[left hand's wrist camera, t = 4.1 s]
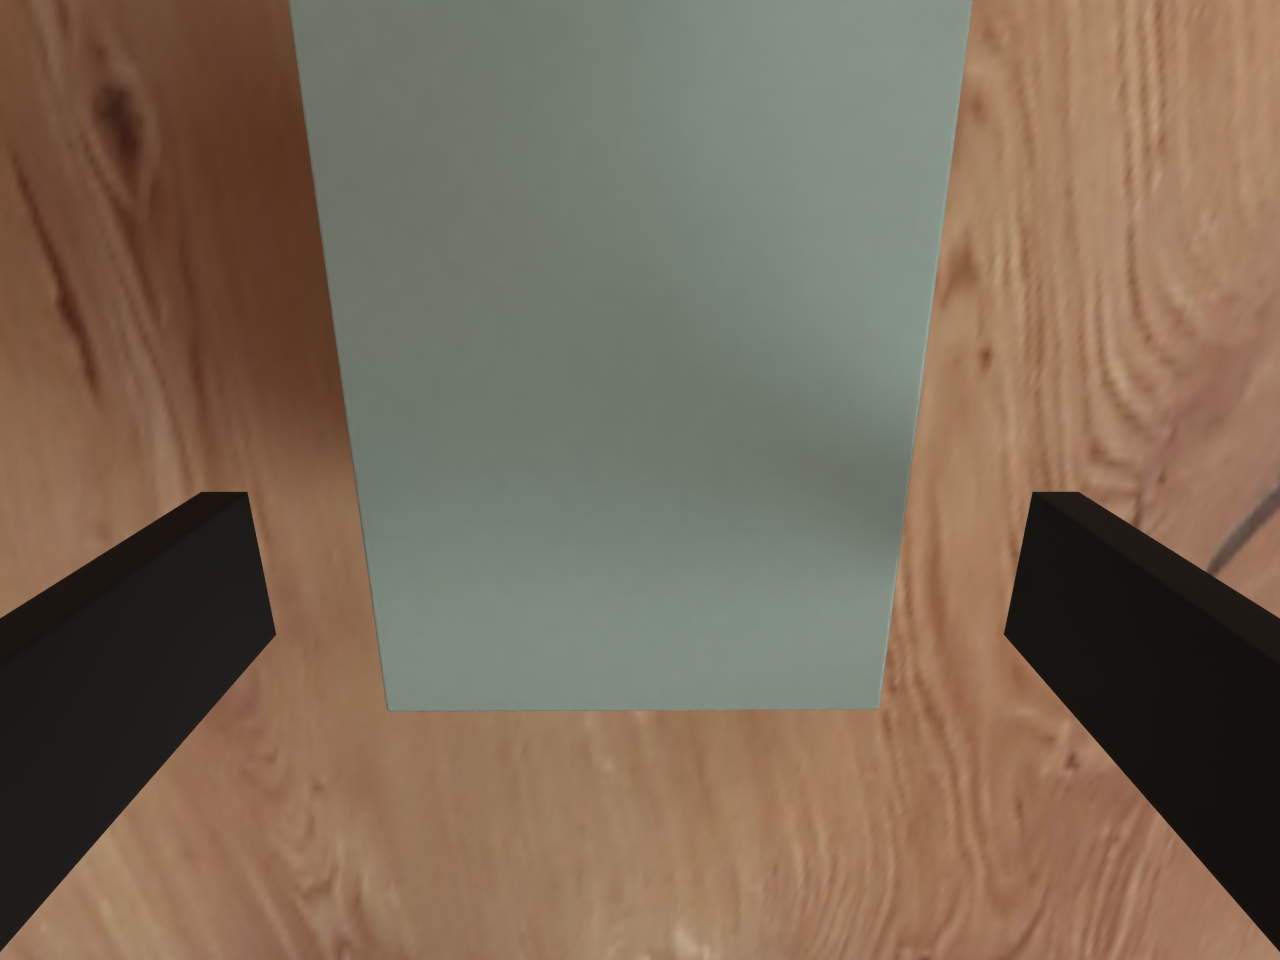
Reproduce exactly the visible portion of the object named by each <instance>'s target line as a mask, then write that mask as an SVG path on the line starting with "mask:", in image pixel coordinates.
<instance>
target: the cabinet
mask: <svg viewBox="0 0 1280 960" xmlns="http://www.w3.org/2000/svg"><path fill="white" fill-rule="evenodd" d="M972 2H973V0H288V5H289V12H290V19H291V26H292V34H293V41H294V48H295V55H296V62H297V69H298V76H299V84H300V91H301V98H302V105H303V112H304V119H305V126H306V134H307V141H308V148H309V155H310V162H311V169H312V176H313V184H314V191H315V198H316V205H317V212H318V219H319V227H320V234H321V241H322V248H323V255H324V262H325V269H326V277H327V284H328V291H329V298H330V305H331V312H332V319H333V327H334V334H335V341H336V348H337V355H338V362H339V369H340V377H341V384H342V391H343V398H344V405H345V412H346V420H347V427H348V434H349V441H350V448H351V455H352V462H353V470H354V477H355V484H356V491H357V498H358V505H359V512H360V520H361V527H362V534H363V541H364V548H365V555H366V562H367V570H368V577H369V584H370V591H371V598H372V605H373V613H374V620H375V627H376V634H377V641H378V648H379V655H380V663H381V670H382V677H383V684H384V691H385V698H386V705H387V710H388V711H390V712H391V711H631V710H870V709H878V708H879V706H880V698H881V691H882V683H883V676H884V668H885V661H886V653H887V645H888V638H889V630H890V623H891V615H892V608H893V600H894V592H895V585H896V577H897V570H898V562H899V555H900V547H901V540H902V532H903V524H904V517H905V509H906V502H907V494H908V487H909V479H910V471H911V464H912V456H913V449H914V441H915V434H916V426H917V418H918V411H919V403H920V396H921V388H922V381H923V373H924V365H925V358H926V350H927V343H928V335H929V328H930V320H931V312H932V305H933V297H934V290H935V282H936V275H937V267H938V260H939V252H940V244H941V237H942V229H943V222H944V214H945V207H946V199H947V191H948V184H949V176H950V169H951V161H952V154H953V146H954V138H955V131H956V123H957V116H958V108H959V101H960V93H961V85H962V78H963V70H964V63H965V55H966V48H967V40H968V32H969V25H970V17H971V10H972Z"/></svg>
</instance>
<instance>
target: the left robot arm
mask: <svg viewBox="0 0 1280 960" xmlns="http://www.w3.org/2000/svg"><path fill="white" fill-rule="evenodd" d="M275 635H276V632H275V627H274V622H273V617H272V612H271V607H270V602H269V597H268V592H267V587H266V582H265V577H264V572H263V567H262V562H261V557H260V552H259V547H258V542H257V538H256V533H255V528H254V523H253V518H252V513H251V508H250V503H249V498H248V493H247V492H201V493H199V494H197V495H196V496H194V497H193V498H191V499H189V500H188V501H186V502H185V503H183V504H181V505H180V506H178V507H177V508H175V509H174V510H172V511H170V512H169V513H167V514H166V515H164V516H162V517H161V518H159V519H158V520H156V521H154V522H153V523H151V524H150V525H148V526H147V527H145V528H143V529H142V530H140V531H139V532H137V533H135V534H134V535H132V536H131V537H129V538H127V539H126V540H124V541H123V542H121V543H120V544H118V545H116V546H115V547H113V548H112V549H110V550H108V551H107V552H105V553H104V554H102V555H100V556H99V557H97V558H96V559H94V560H92V561H91V562H89V563H88V564H86V565H85V566H83V567H81V568H80V569H78V570H77V571H75V572H73V573H72V574H70V575H69V576H67V577H65V578H64V579H62V580H61V581H59V582H58V583H56V584H54V585H53V586H51V587H50V588H48V589H46V590H45V591H43V592H42V593H40V594H38V595H37V596H35V597H34V598H32V599H31V600H29V601H27V602H26V603H24V604H23V605H21V606H19V607H18V608H16V609H15V610H13V611H11V612H10V613H8V614H7V615H5V616H4V617H2V618H0V952H1V950H2V949H3V948H4V947H5V946H6V945H7V944H8V942H9V941H10V940H11V939H12V938H13V937H14V935H15V934H16V933H17V932H18V931H19V930H20V929H21V927H22V926H23V925H24V924H25V923H26V922H27V920H28V919H29V918H30V917H31V916H32V915H33V914H34V912H35V911H36V910H37V909H38V908H39V907H40V906H41V904H42V903H43V902H44V901H45V900H46V899H47V897H48V896H49V895H50V894H51V893H52V892H53V891H54V889H55V888H56V887H57V886H58V885H59V884H60V883H61V881H62V880H63V879H64V878H65V877H66V876H67V874H68V873H69V872H70V871H71V870H72V869H73V868H74V866H75V865H76V864H77V863H78V862H79V861H80V860H81V858H82V857H83V856H84V855H85V854H86V853H87V851H88V850H89V849H90V848H91V847H92V846H93V845H94V843H95V842H96V841H97V840H98V839H99V838H100V837H101V835H102V834H103V833H104V832H105V831H106V830H107V828H108V827H109V826H110V825H111V824H112V823H113V822H114V820H115V819H116V818H117V817H118V816H119V815H120V814H121V812H122V811H123V810H124V809H125V808H126V807H127V805H128V804H129V803H130V802H131V801H132V800H133V799H134V797H135V796H136V795H137V794H138V793H139V792H140V791H141V789H142V788H143V787H144V786H145V785H146V784H147V782H148V781H149V780H150V779H151V778H152V777H153V776H154V774H155V773H156V772H157V771H158V770H159V769H160V768H161V766H162V765H163V764H164V763H165V762H166V761H167V759H168V758H169V757H170V756H171V755H172V754H173V753H174V751H175V750H176V749H177V748H178V747H179V746H180V744H181V743H182V742H183V741H184V740H185V739H186V738H187V736H188V735H189V734H190V733H191V732H192V731H193V730H194V728H195V727H196V726H197V725H198V724H199V723H200V721H201V720H202V719H203V718H204V717H205V716H206V715H207V713H208V712H209V711H210V710H211V709H212V708H213V707H214V705H215V704H216V703H217V702H218V701H219V700H220V698H221V697H222V696H223V695H224V694H225V693H226V692H227V690H228V689H229V688H230V687H231V686H232V685H233V684H234V682H235V681H236V680H237V679H238V678H239V677H240V675H241V674H242V673H243V672H244V671H245V670H246V669H247V667H248V666H249V665H250V664H251V663H252V662H253V661H254V659H255V658H256V657H257V656H258V655H259V654H260V652H261V651H262V650H263V649H264V648H265V647H266V646H267V644H268V643H269V642H270V641H271V640H272V639H273V638H274V636H275ZM1004 635H1005V636H1006V638H1007V639H1008V640H1009V641H1010V642H1011V643H1012V644H1013V646H1014V647H1015V648H1016V649H1017V650H1018V651H1019V652H1020V654H1021V655H1022V656H1023V657H1024V658H1025V659H1026V661H1027V662H1028V663H1029V664H1030V665H1031V666H1032V667H1033V669H1034V670H1035V671H1036V672H1037V673H1038V674H1039V675H1040V677H1041V678H1042V679H1043V680H1044V681H1045V682H1046V684H1047V685H1048V686H1049V687H1050V688H1051V689H1052V690H1053V692H1054V693H1055V694H1056V695H1057V696H1058V697H1059V698H1060V700H1061V701H1062V702H1063V703H1064V704H1065V705H1066V707H1067V708H1068V709H1069V710H1070V711H1071V712H1072V713H1073V715H1074V716H1075V717H1076V718H1077V719H1078V720H1079V721H1080V723H1081V724H1082V725H1083V726H1084V727H1085V728H1086V730H1087V731H1088V732H1089V733H1090V734H1091V735H1092V736H1093V738H1094V739H1095V740H1096V741H1097V742H1098V743H1099V744H1100V746H1101V747H1102V748H1103V749H1104V750H1105V751H1106V753H1107V754H1108V755H1109V756H1110V757H1111V758H1112V759H1113V761H1114V762H1115V763H1116V764H1117V765H1118V766H1119V768H1120V769H1121V770H1122V771H1123V772H1124V773H1125V774H1126V776H1127V777H1128V778H1129V779H1130V780H1131V781H1132V782H1133V784H1134V785H1135V786H1136V787H1137V788H1138V789H1139V791H1140V792H1141V793H1142V794H1143V795H1144V796H1145V797H1146V799H1147V800H1148V801H1149V802H1150V803H1151V804H1152V805H1153V807H1154V808H1155V809H1156V810H1157V811H1158V812H1159V814H1160V815H1161V816H1162V817H1163V818H1164V819H1165V820H1166V822H1167V823H1168V824H1169V825H1170V826H1171V827H1172V828H1173V830H1174V831H1175V832H1176V833H1177V834H1178V835H1179V837H1180V838H1181V839H1182V840H1183V841H1184V842H1185V843H1186V845H1187V846H1188V847H1189V848H1190V849H1191V850H1192V851H1193V853H1194V854H1195V855H1196V856H1197V857H1198V858H1199V860H1200V861H1201V862H1202V863H1203V864H1204V865H1205V866H1206V868H1207V869H1208V870H1209V871H1210V872H1211V873H1212V874H1213V876H1214V877H1215V878H1216V879H1217V880H1218V881H1219V883H1220V884H1221V885H1222V886H1223V887H1224V888H1225V889H1226V891H1227V892H1228V893H1229V894H1230V895H1231V896H1232V897H1233V899H1234V900H1235V901H1236V902H1237V903H1238V904H1239V906H1240V907H1241V908H1242V909H1243V910H1244V911H1245V912H1246V914H1247V915H1248V916H1249V917H1250V918H1251V919H1252V920H1253V922H1254V923H1255V924H1256V925H1257V926H1258V927H1259V929H1260V930H1261V931H1262V932H1263V933H1264V934H1265V935H1266V937H1267V938H1268V939H1269V940H1270V941H1271V942H1272V944H1273V945H1274V946H1275V947H1276V948H1277V949H1278V950H1279V952H1280V618H1278V617H1276V616H1275V615H1273V614H1272V613H1270V612H1269V611H1267V610H1265V609H1264V608H1262V607H1261V606H1259V605H1257V604H1256V603H1254V602H1253V601H1251V600H1249V599H1248V598H1246V597H1245V596H1243V595H1242V594H1240V593H1238V592H1237V591H1235V590H1234V589H1232V588H1230V587H1229V586H1227V585H1226V584H1224V583H1222V582H1221V581H1219V580H1218V579H1216V578H1215V577H1213V576H1211V575H1210V574H1208V573H1207V572H1205V571H1203V570H1202V569H1200V568H1199V567H1197V566H1195V565H1194V564H1192V563H1191V562H1189V561H1188V560H1186V559H1184V558H1183V557H1181V556H1180V555H1178V554H1176V553H1175V552H1173V551H1172V550H1170V549H1168V548H1167V547H1165V546H1164V545H1162V544H1160V543H1159V542H1157V541H1156V540H1154V539H1153V538H1151V537H1149V536H1148V535H1146V534H1145V533H1143V532H1141V531H1140V530H1138V529H1137V528H1135V527H1133V526H1132V525H1130V524H1129V523H1127V522H1126V521H1124V520H1122V519H1121V518H1119V517H1118V516H1116V515H1114V514H1113V513H1111V512H1110V511H1108V510H1106V509H1105V508H1103V507H1102V506H1100V505H1099V504H1097V503H1095V502H1094V501H1092V500H1091V499H1089V498H1087V497H1086V496H1084V495H1083V494H1081V493H1079V492H1033V493H1032V498H1031V503H1030V508H1029V513H1028V518H1027V523H1026V528H1025V533H1024V538H1023V542H1022V547H1021V552H1020V557H1019V562H1018V567H1017V572H1016V577H1015V582H1014V587H1013V592H1012V597H1011V602H1010V607H1009V612H1008V617H1007V622H1006V627H1005V632H1004Z"/></svg>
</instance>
